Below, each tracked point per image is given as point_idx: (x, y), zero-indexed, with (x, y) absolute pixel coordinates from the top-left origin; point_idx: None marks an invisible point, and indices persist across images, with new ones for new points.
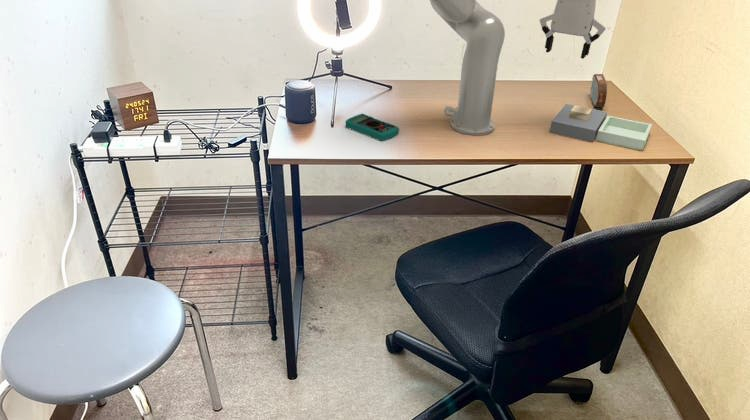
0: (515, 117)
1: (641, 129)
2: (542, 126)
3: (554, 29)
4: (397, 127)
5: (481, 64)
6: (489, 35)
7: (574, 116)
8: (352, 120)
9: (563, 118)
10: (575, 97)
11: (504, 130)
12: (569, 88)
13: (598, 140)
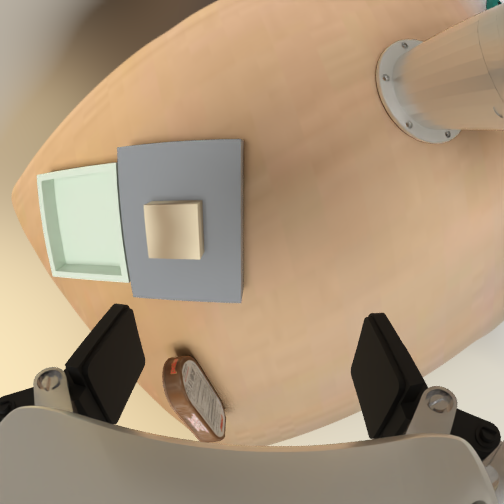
0: (355, 201)
1: (70, 265)
2: (272, 174)
3: (437, 447)
4: None
5: None
6: None
7: (185, 201)
8: None
9: (214, 181)
10: (248, 390)
11: (354, 97)
12: (272, 420)
13: None
